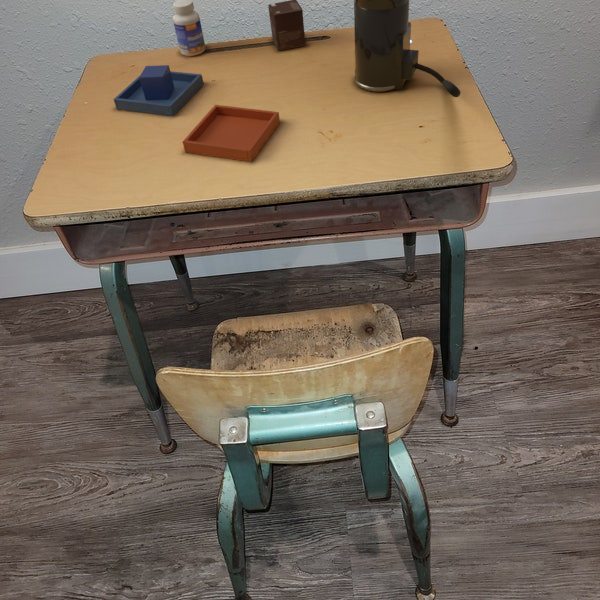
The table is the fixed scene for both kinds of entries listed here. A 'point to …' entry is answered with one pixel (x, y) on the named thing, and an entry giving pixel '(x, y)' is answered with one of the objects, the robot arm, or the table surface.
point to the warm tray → (232, 132)
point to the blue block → (157, 82)
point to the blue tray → (182, 92)
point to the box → (287, 24)
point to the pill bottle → (188, 28)
